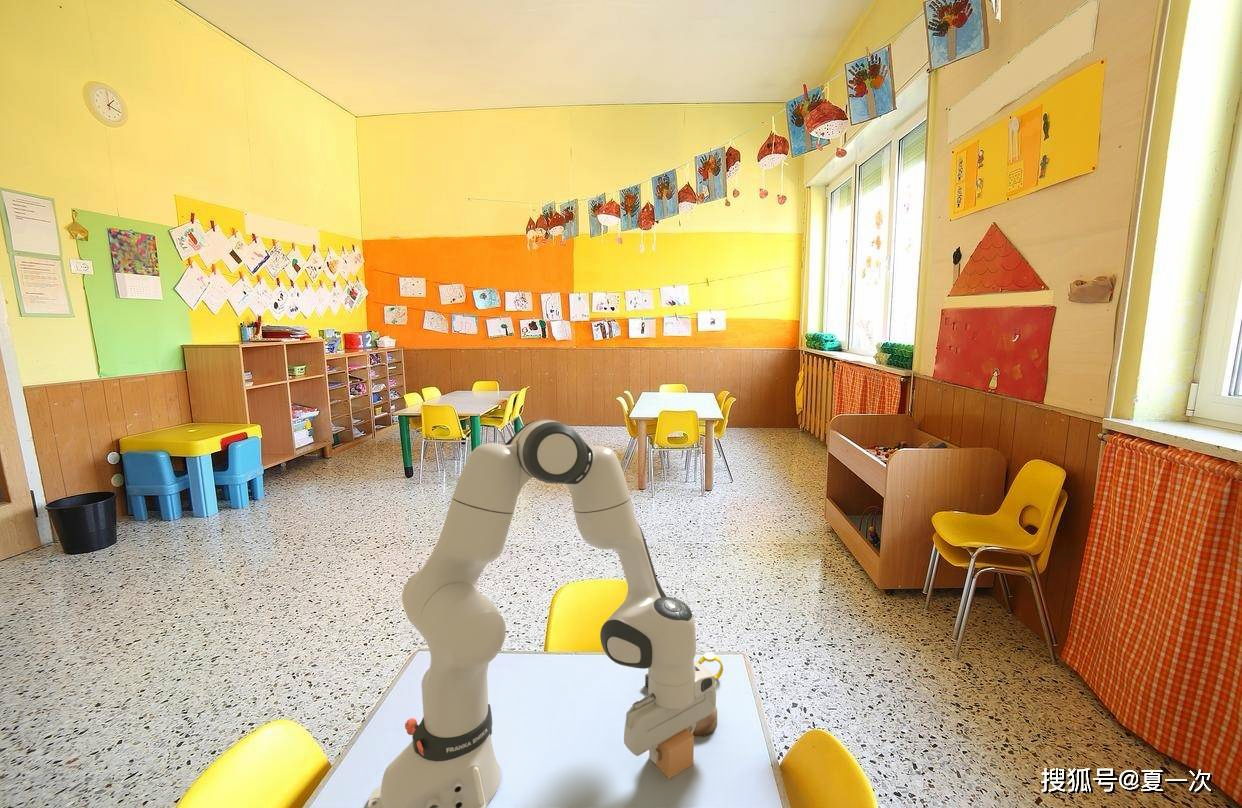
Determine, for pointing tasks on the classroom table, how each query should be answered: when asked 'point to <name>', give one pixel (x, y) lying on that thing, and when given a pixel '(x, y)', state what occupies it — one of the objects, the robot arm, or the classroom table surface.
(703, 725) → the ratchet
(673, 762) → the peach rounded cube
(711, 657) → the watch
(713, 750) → the classroom table surface
